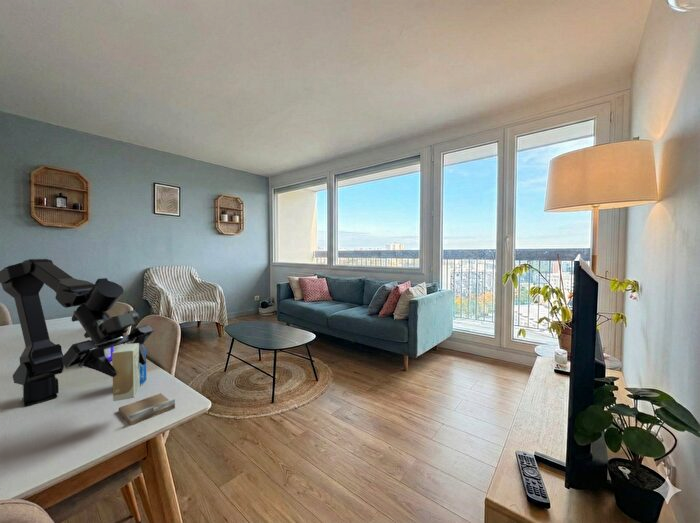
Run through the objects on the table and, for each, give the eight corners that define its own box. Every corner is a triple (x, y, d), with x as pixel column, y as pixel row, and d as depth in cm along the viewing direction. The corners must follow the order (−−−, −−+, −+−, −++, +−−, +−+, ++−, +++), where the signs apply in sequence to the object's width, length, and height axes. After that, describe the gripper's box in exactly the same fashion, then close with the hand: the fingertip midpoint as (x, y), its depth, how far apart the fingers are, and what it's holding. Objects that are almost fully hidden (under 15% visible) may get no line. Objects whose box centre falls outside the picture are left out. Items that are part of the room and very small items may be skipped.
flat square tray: (131, 425, 71) (130, 416, 71) (118, 411, 77) (118, 402, 77) (175, 408, 79) (175, 399, 79) (160, 396, 85) (160, 388, 85)
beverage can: (133, 390, 89) (132, 352, 88) (116, 388, 90) (115, 350, 89) (151, 381, 95) (150, 345, 95) (135, 379, 96) (134, 343, 96)
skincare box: (120, 390, 75) (119, 344, 74) (140, 387, 77) (139, 342, 76) (112, 402, 69) (111, 352, 69) (134, 398, 71) (133, 350, 71)
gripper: (69, 309, 64) (107, 364, 62) (148, 296, 82) (179, 338, 80) (46, 340, 66) (81, 394, 64) (127, 321, 84) (157, 363, 82)
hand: (130, 369), depth 72 cm, fingers closed on skincare box, 7 cm apart
